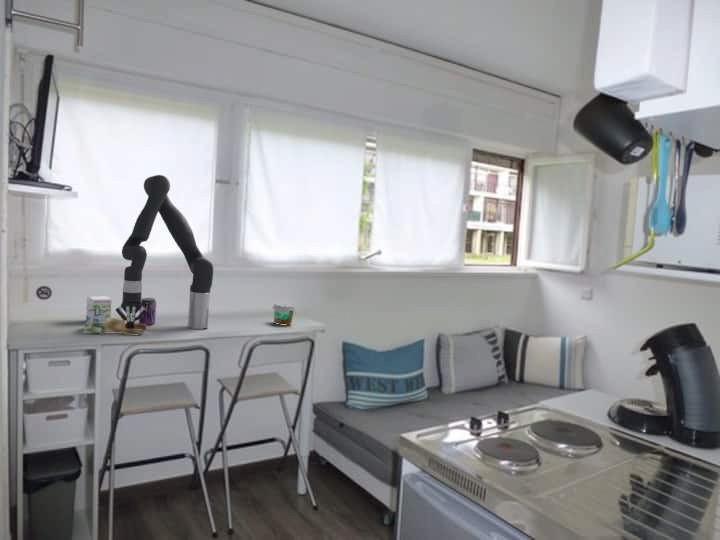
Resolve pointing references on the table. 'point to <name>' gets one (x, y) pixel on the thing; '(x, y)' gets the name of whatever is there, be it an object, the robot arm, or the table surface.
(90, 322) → the channel
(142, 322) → the beverage can
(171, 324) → the table surface
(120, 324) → the block
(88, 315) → the ink box
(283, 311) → the food container
